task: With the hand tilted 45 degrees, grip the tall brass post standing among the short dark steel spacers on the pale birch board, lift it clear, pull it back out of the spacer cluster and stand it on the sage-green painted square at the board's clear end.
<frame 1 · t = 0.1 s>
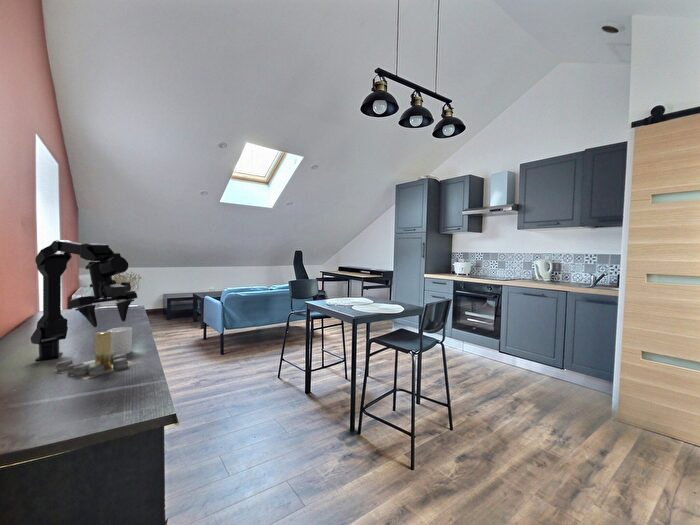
hand: (110, 324, 111), 15 cm above the table, tool pointing down, fingers open, 9 cm apart
white cup: (120, 355, 127), on the table
spacer board: (96, 369, 111), on the table
brass post: (103, 368, 109), point 1 cm above the table, touching spacer board
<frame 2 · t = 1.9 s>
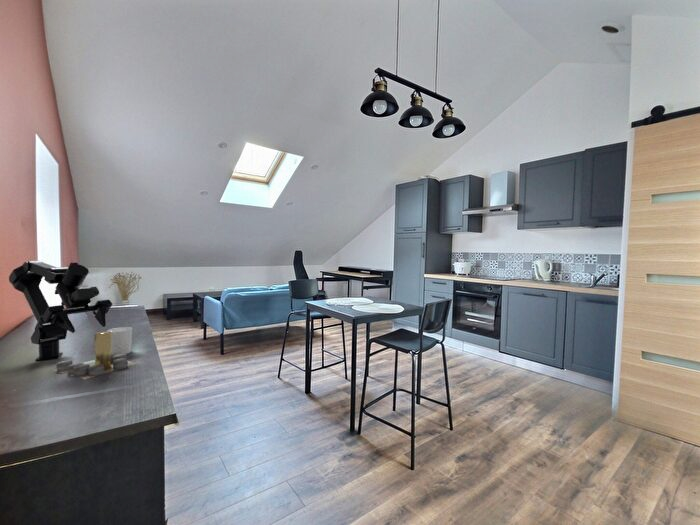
hand: (89, 329, 112), 13 cm above the table, tool tilted 45°, fingers open, 9 cm apart
nothing on the table moved.
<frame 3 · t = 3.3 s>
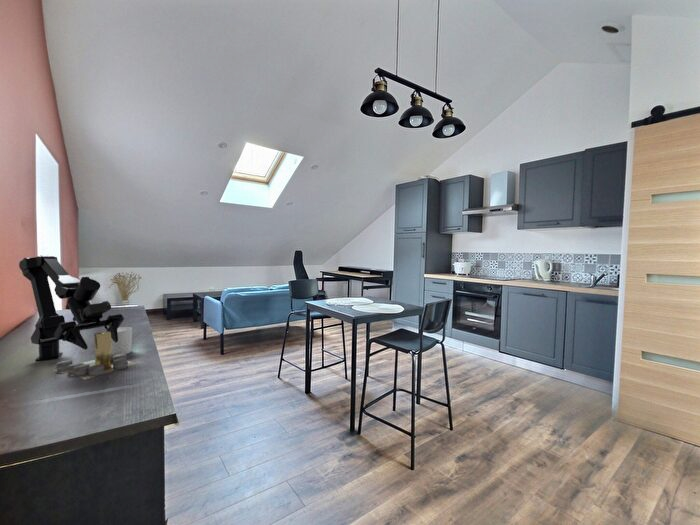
hand: (102, 345, 109), 9 cm above the table, tool tilted 45°, fingers open, 9 cm apart
nothing on the table moved.
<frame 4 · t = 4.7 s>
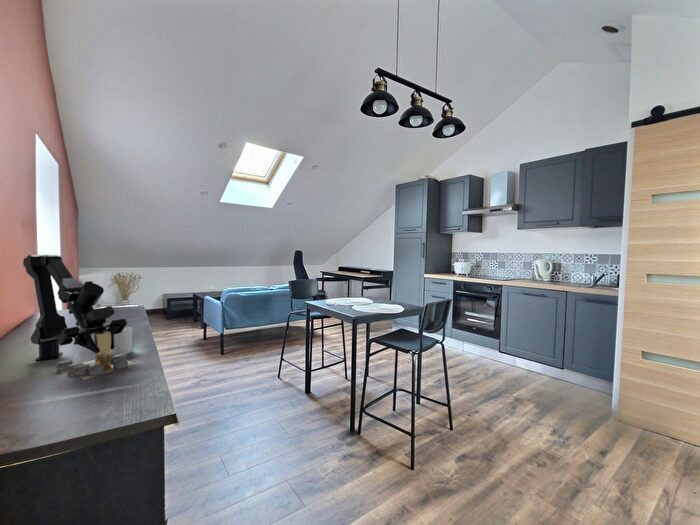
hand: (105, 350, 109), 7 cm above the table, tool tilted 45°, fingers closed on brass post, 4 cm apart
brass post: (103, 368, 109), point 1 cm above the table, touching gripper, spacer board
everything else where it was.
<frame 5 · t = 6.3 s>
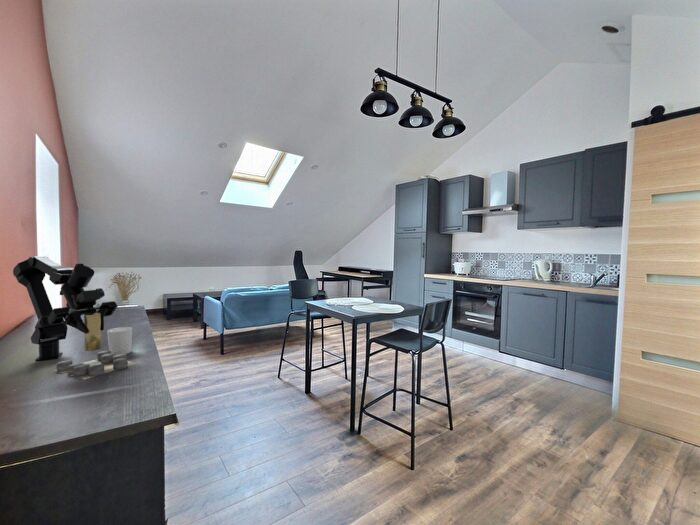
hand: (95, 331, 111), 13 cm above the table, tool tilted 45°, fingers closed on brass post, 4 cm apart
brass post: (92, 348, 112), point 7 cm above the table, touching gripper
everything else where it was.
when the fingers open (8 cm above the table, at t = 8.2 s): brass post stays where it is, resting on spacer board.
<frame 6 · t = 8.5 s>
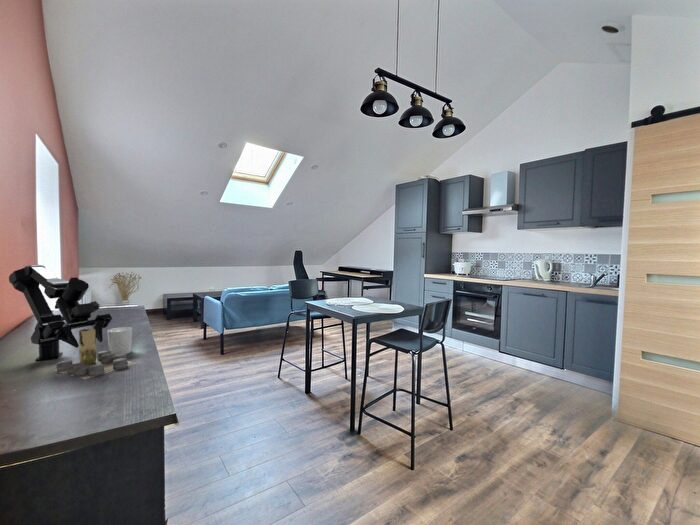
hand: (89, 344, 112), 8 cm above the table, tool tilted 45°, fingers open, 7 cm apart
brass post: (87, 364, 113), point 1 cm above the table, touching spacer board
everything else where it was.
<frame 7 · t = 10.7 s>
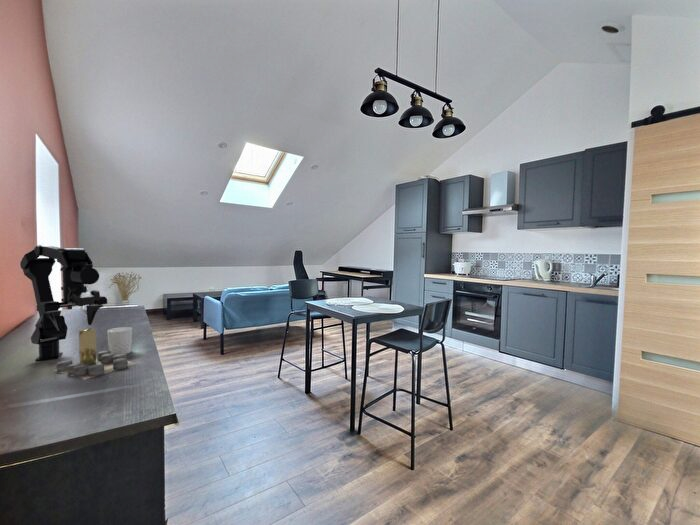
hand: (75, 327, 115), 13 cm above the table, tool pointing down, fingers open, 9 cm apart
nothing on the table moved.
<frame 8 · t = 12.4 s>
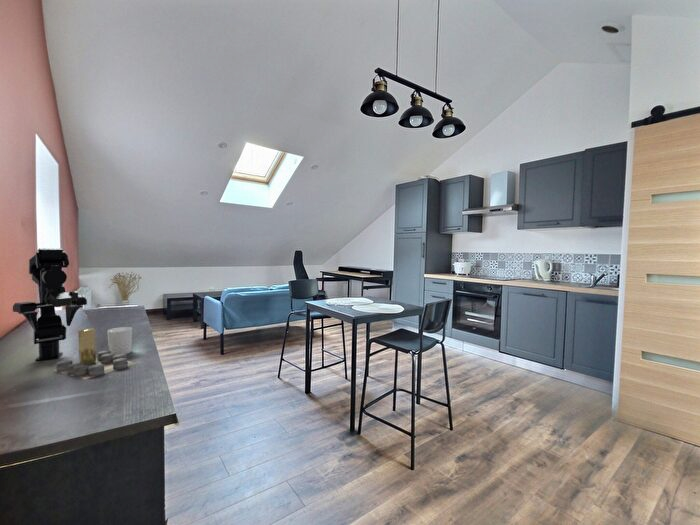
hand: (52, 328, 114), 13 cm above the table, tool pointing down, fingers open, 9 cm apart
nothing on the table moved.
at the end: brass post inside the target area on the spacer board (0.1 cm from its centre), point 0.9 cm above the spacer board's base; brass post tilted 1°; brass post moved 9.0 cm from its start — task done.
